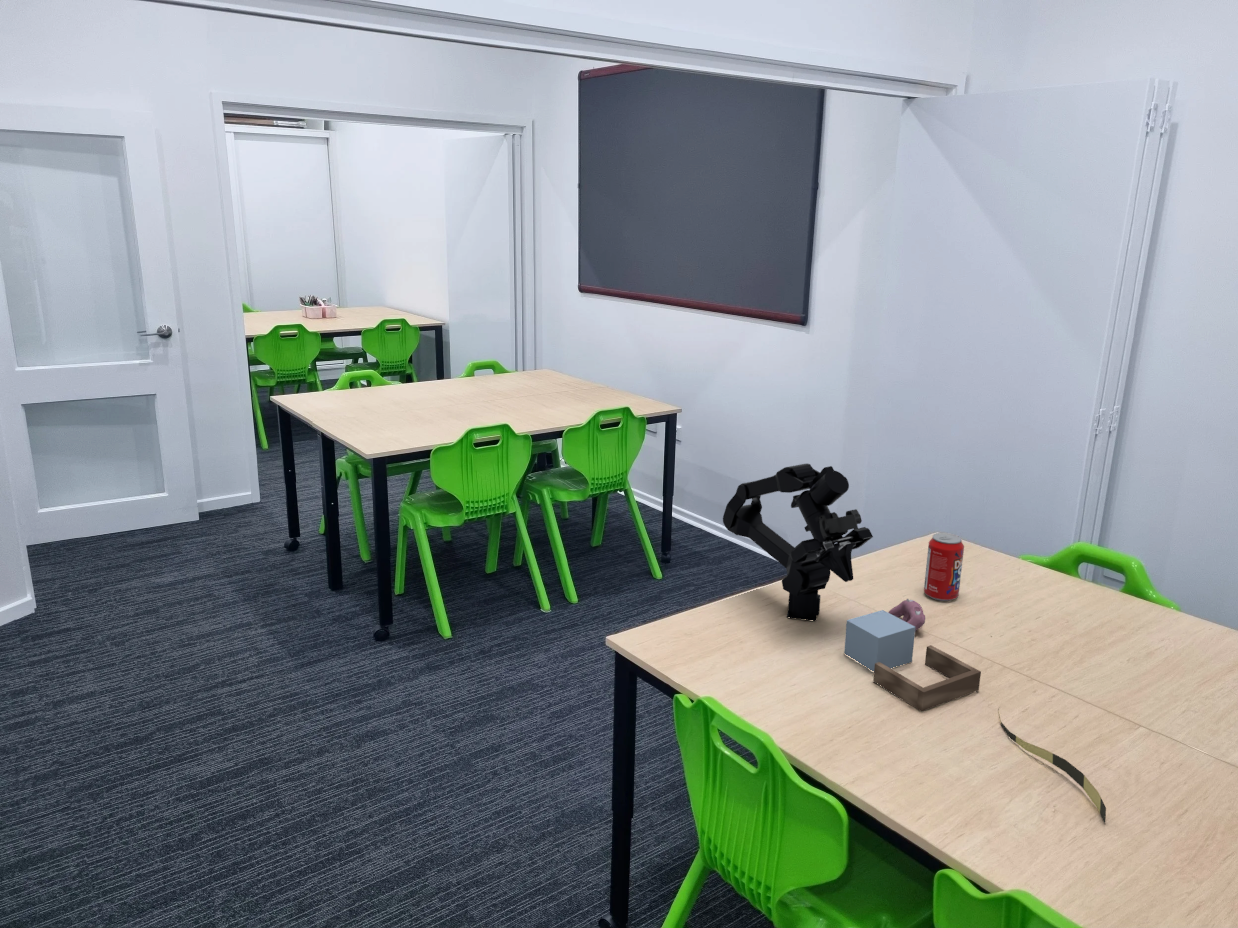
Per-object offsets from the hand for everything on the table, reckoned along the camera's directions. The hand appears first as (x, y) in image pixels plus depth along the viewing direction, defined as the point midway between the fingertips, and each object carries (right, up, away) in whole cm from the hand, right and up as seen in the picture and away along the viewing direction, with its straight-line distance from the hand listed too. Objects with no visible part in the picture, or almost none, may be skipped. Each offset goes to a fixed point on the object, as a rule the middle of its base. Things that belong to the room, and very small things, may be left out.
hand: (849, 580), depth 186 cm
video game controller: (+15, -12, +9) cm, 21 cm away
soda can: (+28, -7, +25) cm, 38 cm away
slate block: (+5, -16, -4) cm, 17 cm away
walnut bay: (+11, -18, -14) cm, 26 cm away
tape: (+24, -25, -35) cm, 49 cm away
